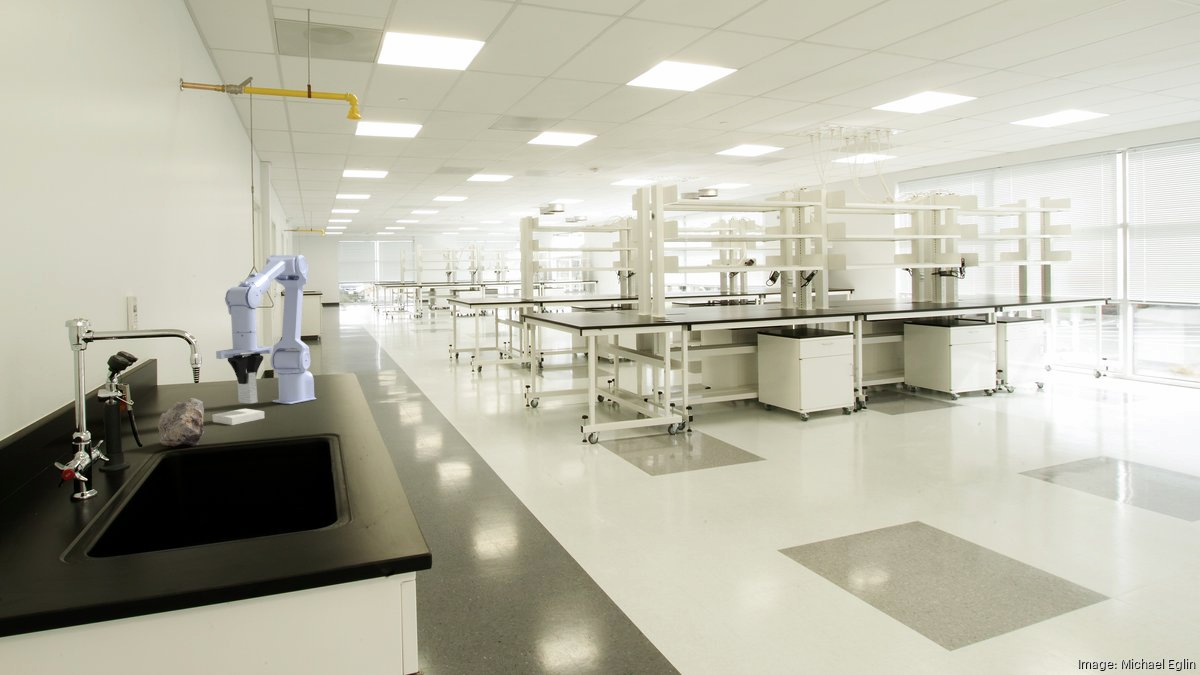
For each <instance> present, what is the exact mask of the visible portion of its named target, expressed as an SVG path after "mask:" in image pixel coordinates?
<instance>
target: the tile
mask: <svg viewBox="0 0 1200 675" xmlns="http://www.w3.org/2000/svg"><path fill="white" fill-rule="evenodd" d="M211 416H212V423H217V424H225V425H231V426H234V425H239V424H242V423H248V422H253V421H257V420H258V421H259V420H263V419H265V411H263V410H257V409H251V408H239V409H235V410H230V411H229V410H228V411H226V412H219V413H215V414H212V415H211Z"/></svg>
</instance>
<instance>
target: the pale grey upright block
mask: <svg viewBox="0 0 1200 675" xmlns="http://www.w3.org/2000/svg"><path fill="white" fill-rule="evenodd" d="M236 382H237V399H238V403H241V404H243V403H244V404H254V403H258V402H259V401H258V389H257V375H256V372H247V371H246V384H239V383H238V379H237V378H236Z"/></svg>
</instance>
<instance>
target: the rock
mask: <svg viewBox="0 0 1200 675" xmlns="http://www.w3.org/2000/svg"><path fill="white" fill-rule="evenodd" d="M204 415H205V408H204V402H203V401H202V400H200V399H198V398H195V397H192V398H191V397H190V398H189V399H188V400H187V401H186V402H184V401H183V402H180V401H177V402H175V403H174V404H173V405H172V406H171V407H169V408H168V409H167V411H166V412H163V413H161V415H160V417H159V419H158V420H159V421H158V426H157V427H158V435H159V436H158V438H159V442H160V444H161V445H162V446H163V445H164V446H167V447H168V446H169V447H170V446H172V447H177V446H181V445H188V446H198V445H199V444H200V442H199V441H200V438H202V436H203V435H204V432H205V431H204V430H205V425H204Z"/></svg>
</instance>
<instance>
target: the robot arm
mask: <svg viewBox="0 0 1200 675" xmlns="http://www.w3.org/2000/svg"><path fill="white" fill-rule="evenodd" d="M265 264H266V265H265V266H264V267H263V268H262V269H261V271H259V272H251V273H249V276H248V277H247V278H246V279H244V280H243V281H241V282H240V284H239V285H238V286H232V287H230V288H229V289H227V291H226V293H225V297H224V301H225V302H224V303H225V305H226V306H227V309H228V310H227V311H228V315H230V317H231V318H230V319H231V322H230V323H231V339H232V341H231V342H232V348H229V349H223V350H217V351H215V355H216V359H217V360H223V359H227V362H228V363H229V364H230V366H231V368H232V370H233V371H234V374H235V376H236V380H237V379H238V383H239V384H246V372H256V376H257V375H258V371H259V368H260V366H261V364H262V362H263V360H264V355H265V354H270V355H271V356H270V366H271V368H272V370H274V371H275V373H276V374H277V376H278V377H277V380H278V383H277V384H278V399H273V400H272V403H280V404H286V405H292V404H297V403H302V402H308V401H314V400H317V397H315V380H314V376H313V374H312V372H310V371H309V370H308V369H309V368H310V366H311V363H312V362H311V359H312V358H311V353H310V347H309V345H308V344H306V343H305V342H304V341H302V340H301V335H302V334H301V332H302V321H303V320H302V317H303V300H304V286H305V285H307V283H308V277H309V263H308V261H307V259H306V257H305V256H304V255H302V254H296V255H295V254H293V255H292V254H291V255H287V254H286V255H284V254H282V255H281V254H278V255H276V254H271V255H269V256H268V257H267V258H266V261H265ZM274 280H275V282H276V283H278V284H279V285H281V286H283V287H284V297H283V299H284V300H283V314H282V315H283V316H282V330H281V339H280V340H279V341H278V342H277V343H276V344H274V345H273V346H271V345H266V346H263V345H262V346H258V333H257V312H256V309H257V308H259V306H260V303H261V300H262V297H263V295H264V294H265V293H266V292H267V291H269V289H271V288H270V287H271V282H272V281H274Z"/></svg>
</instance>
